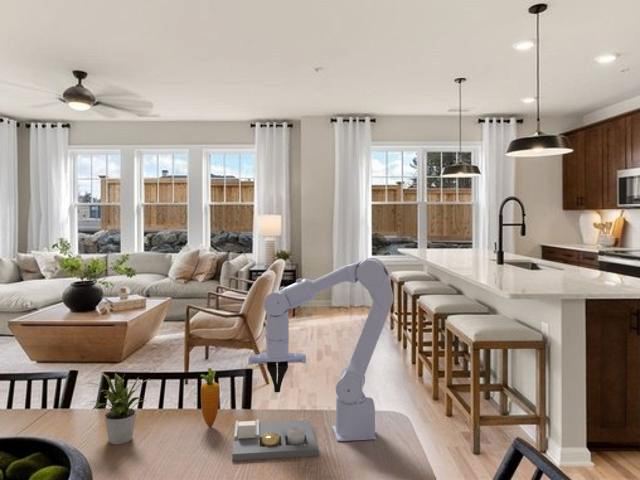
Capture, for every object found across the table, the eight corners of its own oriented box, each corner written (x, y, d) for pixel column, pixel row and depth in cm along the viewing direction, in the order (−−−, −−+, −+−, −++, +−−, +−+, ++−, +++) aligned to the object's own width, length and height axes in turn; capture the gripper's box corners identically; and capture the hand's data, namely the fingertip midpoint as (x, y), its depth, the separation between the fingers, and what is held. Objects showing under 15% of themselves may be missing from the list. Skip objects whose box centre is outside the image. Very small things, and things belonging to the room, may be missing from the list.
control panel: (309, 425, 121) (309, 416, 121) (318, 455, 105) (318, 445, 105) (235, 429, 118) (235, 420, 118) (232, 460, 103) (232, 450, 103)
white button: (303, 437, 112) (303, 426, 112) (305, 444, 108) (305, 434, 108) (287, 438, 111) (287, 427, 111) (288, 445, 107) (288, 435, 107)
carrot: (215, 432, 117) (215, 373, 116) (196, 430, 118) (196, 371, 117) (223, 424, 121) (223, 367, 121) (205, 422, 122) (205, 365, 122)
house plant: (69, 444, 110) (68, 375, 109) (119, 422, 122) (118, 360, 122) (110, 458, 103) (109, 385, 103) (158, 434, 115) (158, 368, 115)
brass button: (278, 442, 111) (278, 432, 111) (279, 450, 107) (279, 439, 107) (261, 443, 110) (261, 432, 110) (261, 451, 106) (261, 440, 106)
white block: (255, 433, 112) (255, 420, 112) (255, 437, 110) (255, 425, 110) (238, 434, 112) (238, 421, 112) (238, 438, 109) (238, 425, 109)
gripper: (304, 334, 124) (303, 384, 125) (248, 335, 122) (248, 386, 123) (306, 340, 117) (306, 394, 118) (248, 342, 115) (248, 396, 116)
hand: (277, 391), depth 120 cm, fingers closed
